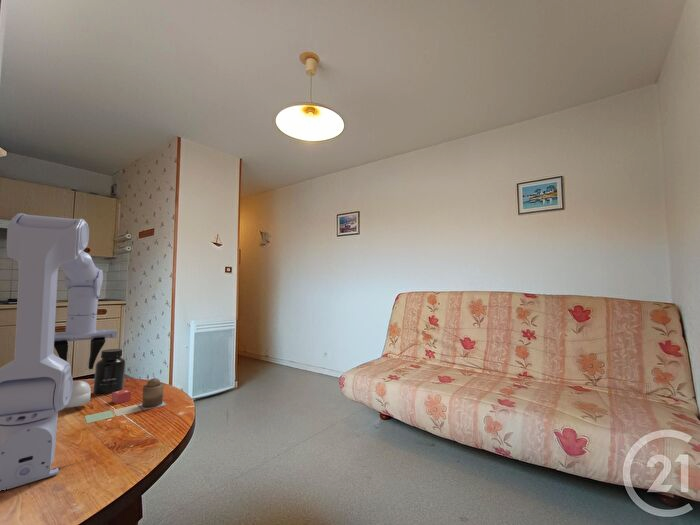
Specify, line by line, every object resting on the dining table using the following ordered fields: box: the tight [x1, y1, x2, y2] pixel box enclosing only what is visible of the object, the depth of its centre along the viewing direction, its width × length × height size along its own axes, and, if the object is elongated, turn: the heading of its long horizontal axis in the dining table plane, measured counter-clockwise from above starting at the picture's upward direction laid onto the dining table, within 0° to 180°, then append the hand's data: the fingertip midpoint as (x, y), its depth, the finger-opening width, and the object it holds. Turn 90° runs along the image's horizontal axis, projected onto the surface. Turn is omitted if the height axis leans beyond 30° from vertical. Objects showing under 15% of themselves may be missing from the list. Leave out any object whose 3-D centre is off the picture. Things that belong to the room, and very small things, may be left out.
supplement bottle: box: [92, 348, 126, 396], centre depth 89 cm, size 7×7×12 cm
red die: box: [111, 388, 132, 405], centre depth 81 cm, size 3×3×3 cm
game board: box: [83, 401, 167, 424], centre depth 76 cm, size 11×16×1 cm
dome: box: [63, 380, 92, 409], centre depth 76 cm, size 6×6×6 cm
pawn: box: [141, 377, 164, 409], centre depth 80 cm, size 4×4×6 cm
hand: (77, 370), depth 77 cm, fingers open, 4 cm apart
